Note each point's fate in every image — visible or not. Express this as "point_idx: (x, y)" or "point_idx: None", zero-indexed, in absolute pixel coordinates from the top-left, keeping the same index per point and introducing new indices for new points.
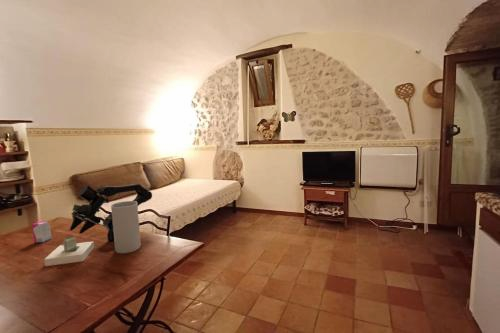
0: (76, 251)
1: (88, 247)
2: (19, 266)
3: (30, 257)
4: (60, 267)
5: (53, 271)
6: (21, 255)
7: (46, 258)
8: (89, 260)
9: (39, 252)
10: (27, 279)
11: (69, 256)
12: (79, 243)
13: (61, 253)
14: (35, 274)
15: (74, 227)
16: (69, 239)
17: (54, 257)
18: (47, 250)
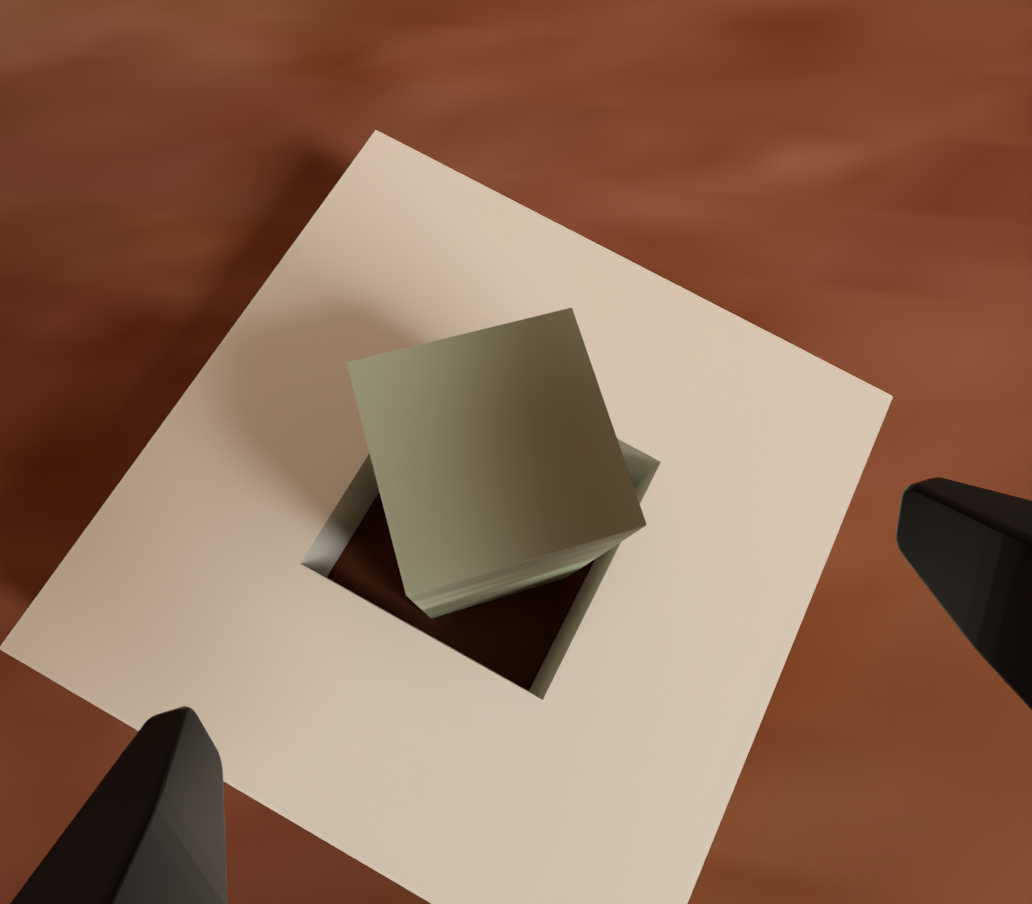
0: (277, 580)
1: (319, 836)
2: (640, 4)
3: (872, 114)
4: (150, 340)
5: (92, 254)
6: (1025, 51)
7: (379, 154)
8: (5, 742)
9: (995, 211)
10: (132, 22)
11: (153, 440)
12: (728, 715)
13: None
14: (205, 94)
15: (1024, 659)
16: (406, 432)
17: (312, 244)
18: (1010, 298)
